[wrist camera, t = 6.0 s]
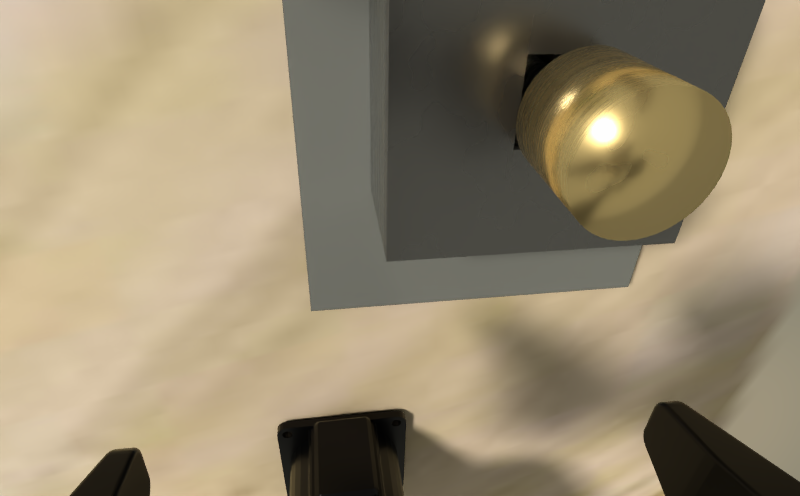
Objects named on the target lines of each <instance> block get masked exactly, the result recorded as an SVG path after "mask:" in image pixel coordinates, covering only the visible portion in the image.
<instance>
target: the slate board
mask: <svg viewBox="0 0 800 496" xmlns="http://www.w3.org/2000/svg"><path fill="white" fill-rule="evenodd" d="M282 3H283V13H284V24H285V35H286V45H287V56H288V67H289V78H290V88H291V99H292V110H293V121H294V131H295V142H296V153H297V164H298V174H299V185H300V196H301V207H302V217H303V228H304V239H305V250H306V260H307V271H308V282H309V293H310V303H311V311H319V310H332V309H345V308H358V307H371V306H384V305H397V304H410V303H424V302H437V301H450V300H463V299H476V298H489V297H502V296H515V295H528V294H541V293H554V292H567V291H580V290H593V289H606V288H619V287H628V286H629V283H630V280H631V277H632V274H633V271H634V268H635V265H636V262H637V259H638V256H639V253H640V250H641V247H642V245H635V246H620V247H604V248H589V249H574V250H559V251H543V252H528V253H513V254H498V255H482V256H467V257H452V258H437V259H421V260H406V261H391V262H386V257H385V252H384V248H383V243H382V239H381V234H380V229H379V225H378V220H377V215H376V211H375V206H374V202H373V197H372V192H371V168H370V61H369V0H282ZM515 141H517V136H516V135H515Z"/></svg>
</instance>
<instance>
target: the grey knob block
mask: <svg viewBox="0 0 800 496" xmlns="http://www.w3.org/2000/svg"><path fill="white" fill-rule="evenodd" d="M764 3H765V0H369V61H370V168H371V192H372V197H373V202H374V206H375V211H376V215H377V220H378V225H379V229H380V234H381V239H382V243H383V248H384V252H385V257H386V262H391V261H406V260H421V259H437V258H452V257H467V256H482V255H498V254H513V253H528V252H543V251H559V250H574V249H589V248H604V247H620V246H635V245H650V244H665V243H675V241H676V238H677V235H678V233H679V230H680V227H681V225H682V222H683V220H681V221H680V222H678V223H677V224H675V225H673V226H672V227H670V228H668V229H666V230H664V231H662V232H660V233H657V234H655V235H652V236H649V237H645V238H641V239H637V240H628V241H616V240H609V239H605V238H601V237H599V236H596V235H594V234H592V233H591V232H589V231H588V230H586V229H585V228H584V227H583V226H582V225H581V224H580V223H579V222H578V221H577V220H576V218H575V217H574V216H573V215H572V214H571V212H570V211H569V210H568V209H567V208H566V206H565V205H564V204H563V203H562V202H561V200H560V199H559V198H558V197H557V196H556V194H555V193H554V192H553V191H552V190H551V188H550V187H549V186H548V185H547V184H546V182H545V181H544V180H543V179H542V178H541V176H540V175H539V174H538V173H537V172H536V171H535V169H534V168H533V167H532V166H531V165H530V163H529V162H528V161H527V160H526V158H525V157H524V156H523V154H522V152H521V150H520V147H519V145H518V141H515V135H516V118H517V113H518V109H519V106H520V103H521V96H522V89H523V83H524V76H525V70H526V63H527V57H528V54H564V53H566V52H568V51H571V50H574V49H576V48H579V47H584V46H589V45H606V46H611V47H615V48H617V49H619V50H622V51H624V52H626V53H628V54H630V55H632V56H634V57H636V58H638V59H640V60H642V61H645V62H647V63H649V64H651V65H653V66H655V67H657V68H659V69H661V70H663V71H665V72H667V73H669V74H671V75H673V76H675V77H677V78H680V79H682V80H684V81H686V82H688V83H690V84H692V85H694V86H696V87H698V88H700V89H702V90H704V91H706V92H708V93H709V94H711V95H712V96H714V97H715V98H716V99H717V100H718V101H719V102H720V103H721V104H722V106H723V107H724V109H725V107H726V104H727V102H728V99H729V96H730V94H731V91H732V88H733V86H734V83H735V80H736V78H737V75H738V72H739V70H740V67H741V64H742V62H743V59H744V56H745V54H746V51H747V48H748V46H749V43H750V40H751V38H752V35H753V32H754V30H755V27H756V24H757V21H758V19H759V16H760V13H761V11H762V8H763V5H764Z"/></svg>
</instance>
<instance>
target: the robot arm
mask: <svg viewBox="0 0 800 496" xmlns="http://www.w3.org/2000/svg"><path fill="white" fill-rule="evenodd" d="M405 433H406V420H405V415H404V413H403V412H402V411H386V412H376V413H367V414H357V415H347V416H338V417H328V418H318V419H309V420H299V421H290V422H284V423H282V424H280V425H279V426H278V434H277V437H278V443H279V449H280V454H281V460H282V466H283V472H284V478H285V484H286V490H287V496H404V493H403V487H402V486H403V477H404V455H405ZM644 443H645V446H646V448H647V451H648V454H649V456H650V459H651V461H652V464H653V466H654V469H655V471H656V474H657V476H658V479H659V481H660V484H661V486H662V489H663V492H664V494H665V496H800V482H799V481H798V480H796V479H795V478H793V477H792V476H790V475H789V474H787V473H786V472H784V471H783V470H781V469H780V468H778V467H777V466H775V465H774V464H772V463H771V462H770V461H768V460H767V459H765V458H764V457H762V456H761V455H759V454H758V453H756V452H755V451H753V450H752V449H751V448H749V447H748V446H746V445H745V444H743V443H742V442H740V441H739V440H737V439H736V438H734V437H733V436H731V435H730V434H728V433H727V432H726V431H724V430H723V429H721V428H720V427H718V426H717V425H715V424H714V423H712V422H711V421H709V420H708V419H706V418H705V417H703V416H702V415H701V414H699V413H698V412H696V411H695V410H693V409H692V408H690V407H689V406H687V405H686V404H684V403H682V402H679V401H670V402H660V403H658V404H657V405H656V406H655V407H654V410H653V412H652V414H651V416H650V418H649V420H648V423H647V425H646V427H645V429H644ZM70 496H150V478H149V475H148V472H147V469H146V466H145V463H144V460H143V457H142V454H141V452H140V450H139V449H137V448H125V449H115V450H112V451H110V452H109V453H107V454H106V455H105V456H104V457H103V459H102V460H101V461H100V462H99V463H98V464H97V465H96V466H95V468H94V469H93V470H92V471H91V472H90V473H89V474H88V475H87V477H86V478H85V479H84V480H83V481H82V482H81V483H80V484H79V486H78V487H77V488H76V489H75V490H74V491H73V492H72V494H71V495H70Z"/></svg>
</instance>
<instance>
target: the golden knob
mask: <svg viewBox="0 0 800 496" xmlns="http://www.w3.org/2000/svg"><path fill="white" fill-rule="evenodd" d="M516 136H517V141H518V145H519V147H520V150H521V152H522V154H523V156H524V157H525V158H526V160H527V161H528V162H529V163H530V165H531V166H532V167H533V168H534V169H535V171H536V172H537V173H538V174H539V175H540V176H541V178H542V179H543V180H544V181H545V182H546V184H547V185H548V186H549V187H550V188H551V190H552V191H553V192H554V193H555V194H556V196H557V197H558V198H559V199H560V200H561V202H562V203H563V204H564V205H565V206H566V208H567V209H568V210H569V211H570V212H571V214H572V215H573V216H574V217H575V218H576V220H577V221H578V222H579V223H580V224H581V225H582V226H583V227H584V228H585V229H586V230H588V231H589V232H591V233H592V234H594V235H596V236H599V237H601V238H605V239H609V240H616V241H628V240H637V239H641V238H645V237H649V236H652V235H655V234H657V233H660V232H662V231H664V230H666V229H668V228H670V227H672V226H673V225H675V224H677V223H678V222H680V221H681V220H683V219H684V218H685V217H687V216H688V215H689V214H690V213H692V212H693V211H694V210H695V209H696V208H697V207H698V206H699V205H700V204H701V203H702V202H703V201H704V200H705V199H706V198H707V196H708V195H709V194H710V193H711V191H712V190H713V189H714V187H715V186H716V184H717V182H718V181H719V179H720V177H721V176H722V173H723V171H724V169H725V167H726V164H727V161H728V158H729V155H730V150H731V143H732V131H731V124H730V120H729V117H728V115H727V112H726V110H725V109H724V107H723V106H722V104H721V103H720V102H719V101H718V100H717V99H716V98H715V97H714V96H712V95H711V94H709V93H708V92H706V91H704V90H702V89H700V88H698V87H696V86H694V85H692V84H690V83H688V82H686V81H684V80H682V79H680V78H677V77H675V76H673V75H671V74H669V73H667V72H665V71H663V70H661V69H659V68H657V67H655V66H653V65H651V64H649V63H647V62H645V61H642V60H640V59H638V58H636V57H634V56H632V55H630V54H628V53H626V52H624V51H622V50H619V49H617V48H615V47H611V46H606V45H589V46H584V47H579V48H576V49H574V50H571V51H568V52H566V53H564V54H528V57H527V63H526V70H525V76H524V83H523V89H522V96H521V103H520V106H519V109H518V113H517V118H516Z"/></svg>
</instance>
